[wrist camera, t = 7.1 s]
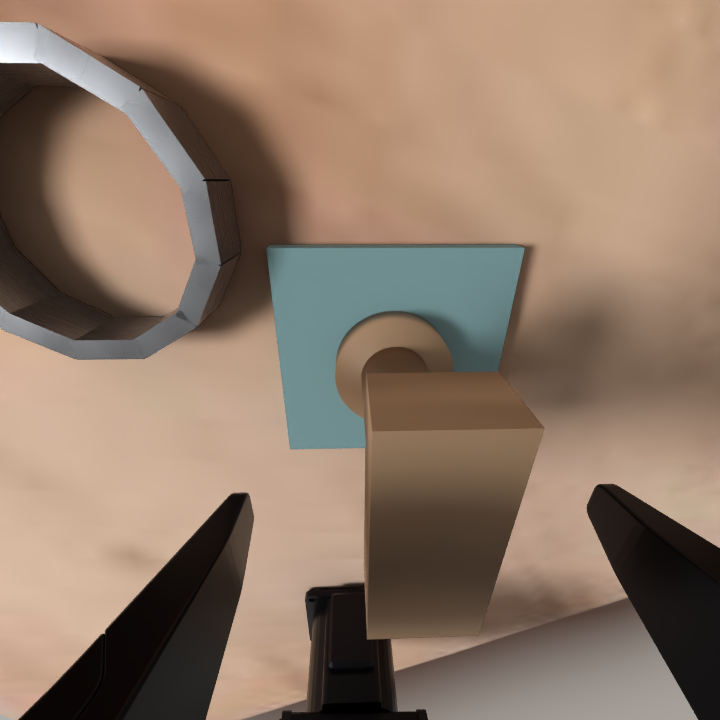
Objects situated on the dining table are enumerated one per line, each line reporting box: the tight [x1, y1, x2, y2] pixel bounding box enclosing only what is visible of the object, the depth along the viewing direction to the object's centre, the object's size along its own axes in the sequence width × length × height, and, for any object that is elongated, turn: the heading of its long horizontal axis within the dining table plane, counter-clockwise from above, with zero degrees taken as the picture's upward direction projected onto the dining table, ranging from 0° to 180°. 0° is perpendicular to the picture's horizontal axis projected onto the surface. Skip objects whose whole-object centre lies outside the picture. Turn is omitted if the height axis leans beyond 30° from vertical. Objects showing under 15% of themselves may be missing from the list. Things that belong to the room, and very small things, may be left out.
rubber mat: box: [266, 244, 525, 449], centre depth 16 cm, size 10×10×1 cm
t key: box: [335, 311, 544, 640], centre depth 12 cm, size 7×5×9 cm
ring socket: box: [0, 22, 241, 360], centre depth 12 cm, size 10×10×2 cm
